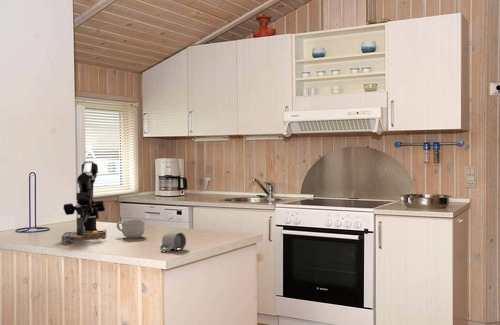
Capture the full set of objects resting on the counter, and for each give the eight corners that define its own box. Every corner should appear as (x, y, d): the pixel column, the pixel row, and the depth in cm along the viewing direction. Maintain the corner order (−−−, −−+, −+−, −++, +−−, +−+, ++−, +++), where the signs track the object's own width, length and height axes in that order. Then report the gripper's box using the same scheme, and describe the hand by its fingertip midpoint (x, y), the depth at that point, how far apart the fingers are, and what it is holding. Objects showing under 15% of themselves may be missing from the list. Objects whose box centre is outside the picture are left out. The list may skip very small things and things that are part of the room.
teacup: (149, 236, 260) (148, 220, 259) (135, 240, 250) (135, 223, 249) (126, 234, 265) (125, 218, 265) (112, 238, 256) (111, 221, 255)
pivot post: (61, 244, 242) (60, 238, 242) (62, 242, 247) (62, 236, 247) (72, 243, 243) (72, 237, 243) (73, 241, 248) (73, 235, 248)
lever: (61, 236, 244) (60, 218, 244) (81, 231, 259) (80, 213, 258) (81, 237, 241) (80, 218, 241) (99, 231, 256) (99, 214, 256)
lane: (61, 240, 252) (61, 234, 252) (64, 237, 261) (64, 231, 261) (105, 238, 256) (105, 232, 256) (106, 235, 265) (106, 229, 265)
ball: (98, 235, 262) (95, 229, 261) (100, 235, 259) (98, 229, 259) (92, 238, 260) (89, 232, 259) (95, 238, 257) (92, 232, 257)
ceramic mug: (173, 247, 232) (172, 229, 232) (186, 249, 227) (186, 231, 227) (155, 251, 224) (154, 233, 223) (169, 254, 219) (168, 235, 218)
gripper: (61, 187, 255) (59, 214, 245) (101, 184, 257) (100, 210, 247) (67, 201, 263) (65, 227, 254) (105, 197, 266) (104, 223, 256)
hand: (83, 222), depth 252 cm, fingers closed
